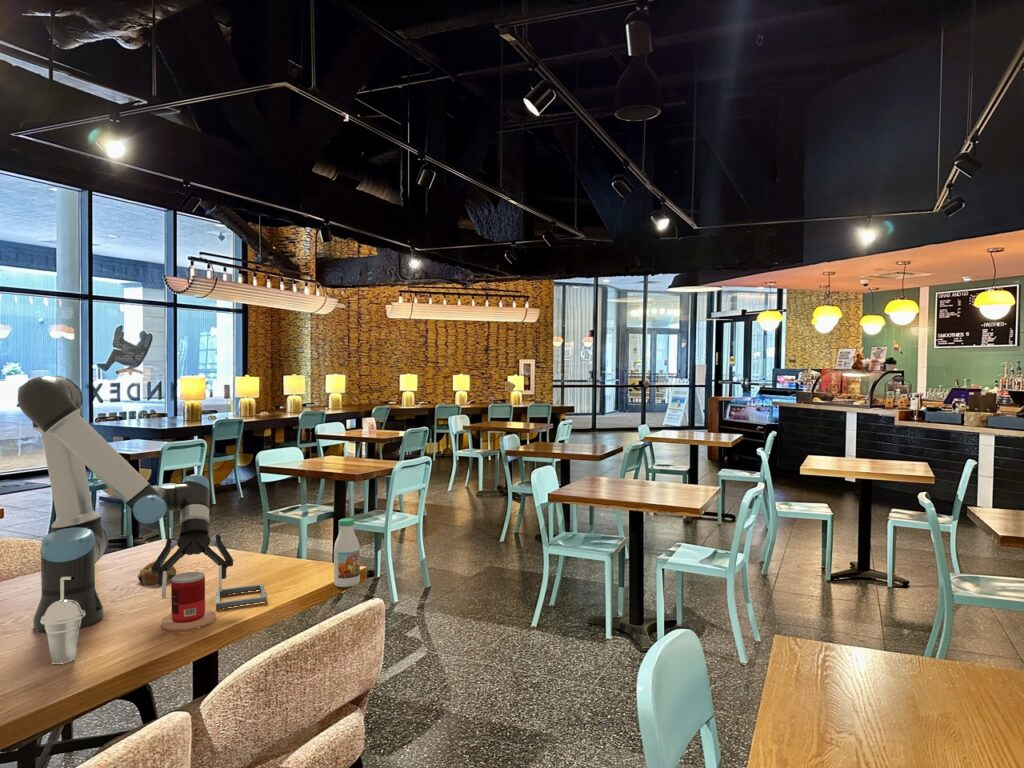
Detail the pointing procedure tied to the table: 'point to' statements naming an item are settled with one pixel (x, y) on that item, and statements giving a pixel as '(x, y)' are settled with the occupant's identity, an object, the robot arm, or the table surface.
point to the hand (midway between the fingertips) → (192, 592)
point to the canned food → (188, 597)
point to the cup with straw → (63, 627)
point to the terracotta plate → (174, 626)
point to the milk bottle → (346, 555)
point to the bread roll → (154, 575)
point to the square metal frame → (242, 601)
